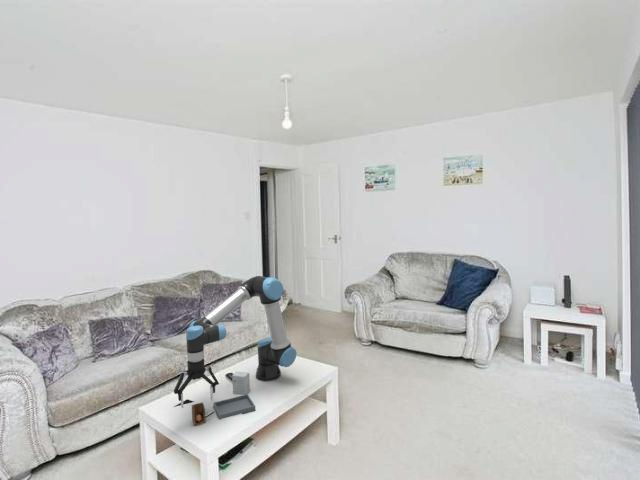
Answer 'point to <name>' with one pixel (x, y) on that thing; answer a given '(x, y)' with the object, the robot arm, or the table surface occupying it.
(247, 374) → the small box
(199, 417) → the ball
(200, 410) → the brown wooden bin
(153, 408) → the table surface
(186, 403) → the smartphone
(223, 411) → the tray
